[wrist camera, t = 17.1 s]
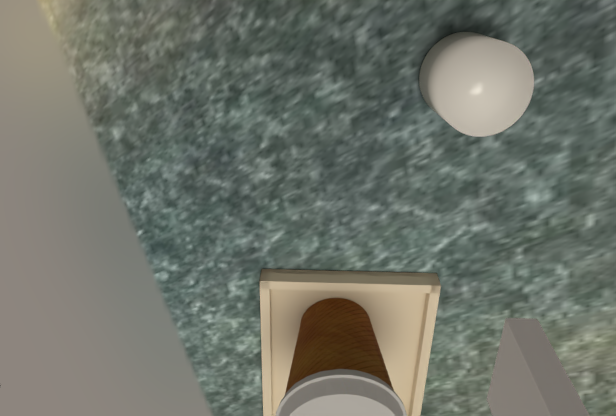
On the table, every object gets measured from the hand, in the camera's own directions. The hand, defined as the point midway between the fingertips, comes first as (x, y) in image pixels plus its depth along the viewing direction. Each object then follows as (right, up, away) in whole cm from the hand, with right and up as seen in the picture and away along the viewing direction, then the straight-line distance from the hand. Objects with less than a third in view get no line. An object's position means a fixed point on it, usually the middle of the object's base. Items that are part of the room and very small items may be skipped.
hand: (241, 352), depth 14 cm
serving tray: (+5, -11, +38) cm, 40 cm away
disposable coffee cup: (+4, -7, +35) cm, 36 cm away
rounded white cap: (+13, +13, +25) cm, 31 cm away
